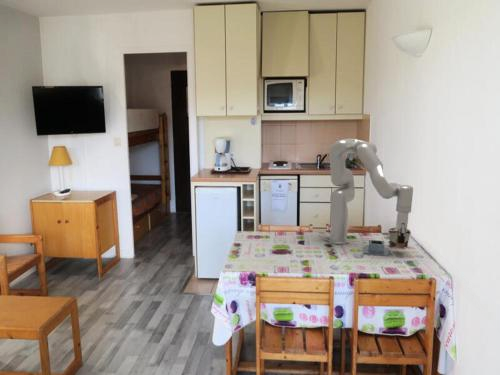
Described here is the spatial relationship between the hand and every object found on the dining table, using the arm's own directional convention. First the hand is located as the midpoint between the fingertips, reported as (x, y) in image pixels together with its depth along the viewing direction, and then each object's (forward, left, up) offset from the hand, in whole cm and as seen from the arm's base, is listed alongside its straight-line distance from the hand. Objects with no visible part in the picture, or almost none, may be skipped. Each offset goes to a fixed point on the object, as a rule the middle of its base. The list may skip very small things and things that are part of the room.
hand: (400, 241), depth 234 cm
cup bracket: (-12, 0, -7) cm, 14 cm away
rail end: (0, 0, -3) cm, 3 cm away
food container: (0, +14, -7) cm, 15 cm away
